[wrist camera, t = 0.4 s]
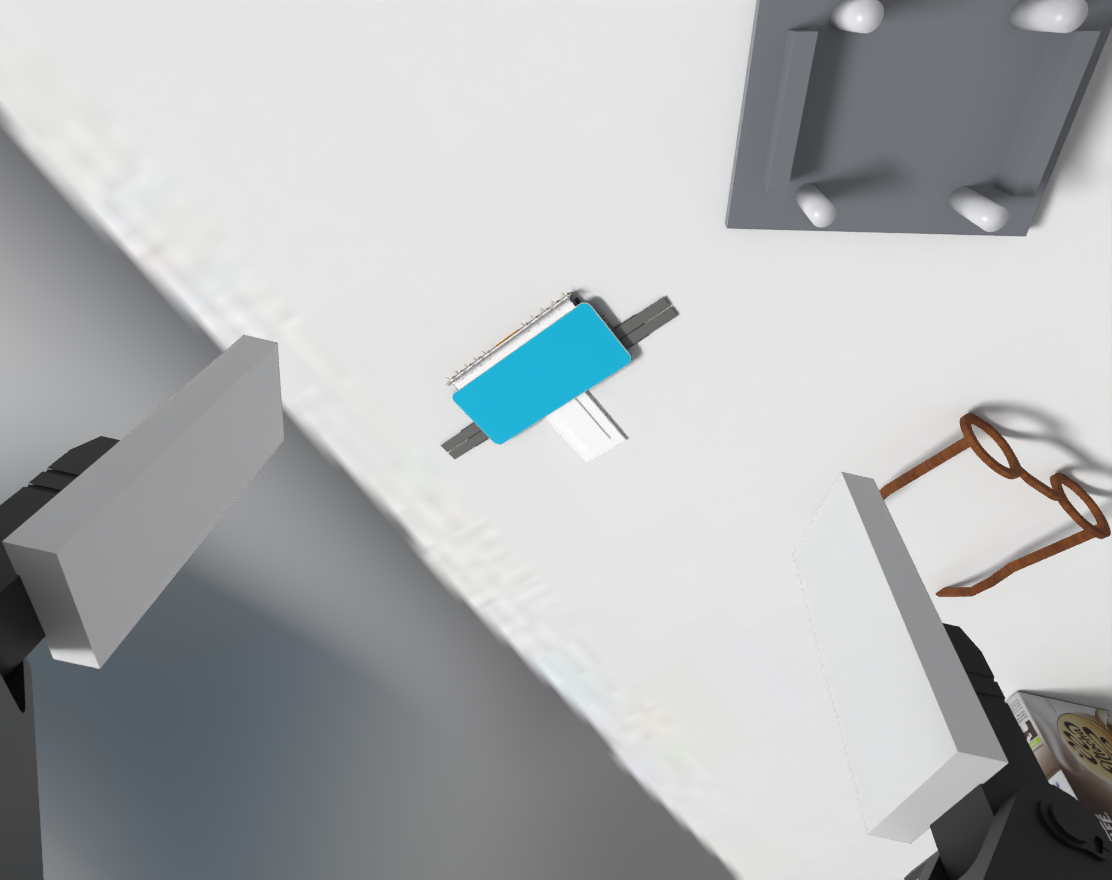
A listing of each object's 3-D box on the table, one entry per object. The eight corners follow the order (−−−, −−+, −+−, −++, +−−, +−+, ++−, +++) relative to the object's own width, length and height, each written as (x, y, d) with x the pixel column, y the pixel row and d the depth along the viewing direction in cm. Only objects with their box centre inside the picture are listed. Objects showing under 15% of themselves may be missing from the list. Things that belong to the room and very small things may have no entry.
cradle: (761, -34, 30) (780, -39, 26) (1124, -38, 29) (1203, -44, 25) (725, 223, 37) (735, 250, 33) (1017, 231, 36) (1065, 260, 32)
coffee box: (975, 727, 61) (1068, 930, 47) (1017, 688, 57) (1130, 896, 44) (1067, 747, 61) (1185, 955, 48) (1114, 710, 57) (1257, 924, 44)
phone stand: (506, 503, 52) (502, 516, 51) (401, 399, 47) (394, 411, 46) (724, 377, 43) (727, 389, 42) (622, 236, 39) (621, 245, 37)
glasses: (1089, 490, 45) (1134, 539, 41) (937, 592, 52) (962, 642, 48) (955, 399, 42) (989, 442, 38) (813, 519, 49) (828, 566, 45)
